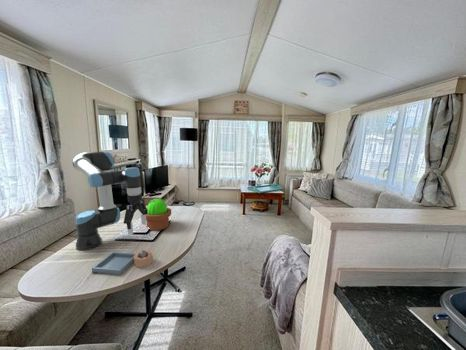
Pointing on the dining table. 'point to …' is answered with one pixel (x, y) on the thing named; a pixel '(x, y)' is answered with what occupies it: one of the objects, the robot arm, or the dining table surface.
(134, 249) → the dining table surface
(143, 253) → the dark grey rounded piece
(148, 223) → the potted cactus
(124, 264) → the tray
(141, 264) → the tan round bowl
